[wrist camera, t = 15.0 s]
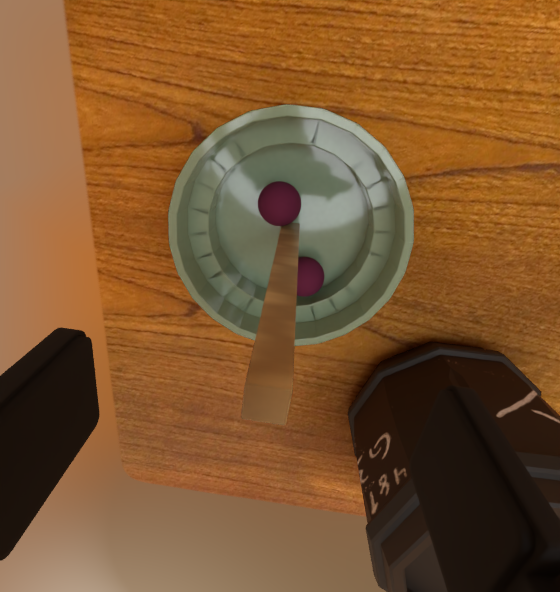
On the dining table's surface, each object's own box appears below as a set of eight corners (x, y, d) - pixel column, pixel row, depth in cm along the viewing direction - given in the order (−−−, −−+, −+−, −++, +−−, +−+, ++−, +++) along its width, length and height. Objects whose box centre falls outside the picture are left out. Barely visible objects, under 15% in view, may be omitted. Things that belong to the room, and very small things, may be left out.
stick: (280, 237, 29) (240, 419, 11) (282, 220, 28) (244, 383, 10) (296, 240, 29) (285, 426, 11) (299, 223, 28) (292, 390, 10)
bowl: (152, 205, 29) (118, 222, 24) (311, 55, 24) (313, 34, 19) (277, 340, 34) (272, 380, 29) (431, 238, 29) (460, 263, 24)
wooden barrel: (525, 460, 39) (654, 652, 24) (358, 475, 41) (387, 658, 27) (540, 315, 31) (736, 471, 17) (336, 345, 34) (360, 502, 20)
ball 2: (286, 257, 30) (272, 288, 29) (304, 242, 27) (289, 276, 26) (317, 277, 31) (304, 307, 30) (337, 264, 28) (324, 298, 27)
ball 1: (242, 204, 27) (262, 231, 25) (264, 167, 25) (287, 193, 24) (273, 212, 29) (293, 237, 27) (294, 178, 27) (317, 203, 26)
